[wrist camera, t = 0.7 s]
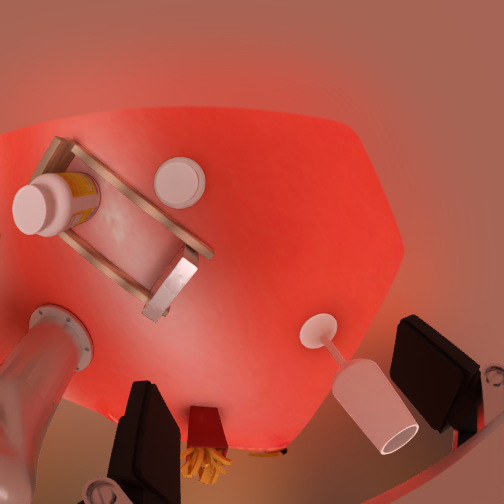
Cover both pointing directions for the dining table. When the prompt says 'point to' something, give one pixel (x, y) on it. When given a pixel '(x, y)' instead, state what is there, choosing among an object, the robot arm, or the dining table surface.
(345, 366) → the champagne flute
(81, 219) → the supplement bottle
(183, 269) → the grey flat block
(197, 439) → the french fries
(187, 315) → the dining table surface
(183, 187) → the supplement bottle
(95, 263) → the lane
